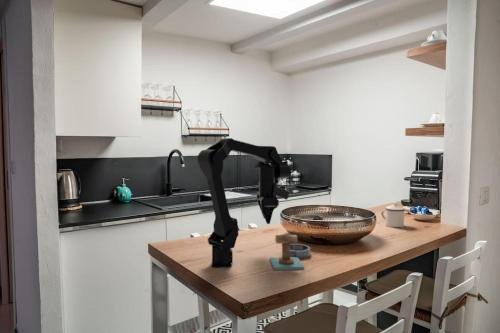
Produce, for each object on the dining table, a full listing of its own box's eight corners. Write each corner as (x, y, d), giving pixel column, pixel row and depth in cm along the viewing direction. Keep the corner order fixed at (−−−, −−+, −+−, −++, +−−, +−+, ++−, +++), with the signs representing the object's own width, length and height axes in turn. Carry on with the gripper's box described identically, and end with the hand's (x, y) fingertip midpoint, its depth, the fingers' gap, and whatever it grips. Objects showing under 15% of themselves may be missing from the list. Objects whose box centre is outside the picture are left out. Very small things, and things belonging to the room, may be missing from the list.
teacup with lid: (407, 226, 178) (408, 203, 177) (397, 228, 172) (398, 205, 171) (386, 222, 187) (387, 200, 186) (376, 224, 182) (376, 201, 181)
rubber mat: (273, 270, 115) (273, 267, 115) (269, 260, 125) (269, 257, 125) (304, 269, 116) (304, 266, 116) (297, 259, 126) (297, 257, 126)
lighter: (327, 238, 155) (327, 215, 154) (323, 239, 152) (323, 216, 152) (311, 234, 160) (311, 213, 160) (307, 236, 158) (307, 214, 157)
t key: (294, 259, 124) (295, 234, 123) (297, 264, 119) (298, 237, 118) (274, 260, 123) (275, 234, 122) (277, 264, 118) (277, 238, 117)
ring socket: (286, 258, 127) (286, 251, 127) (281, 250, 137) (281, 244, 137) (312, 257, 128) (312, 251, 128) (306, 249, 137) (306, 243, 137)
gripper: (293, 182, 124) (292, 226, 125) (283, 177, 142) (283, 215, 143) (261, 182, 123) (261, 226, 124) (256, 177, 142) (256, 216, 143)
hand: (266, 221), depth 134 cm, fingers open, 9 cm apart
